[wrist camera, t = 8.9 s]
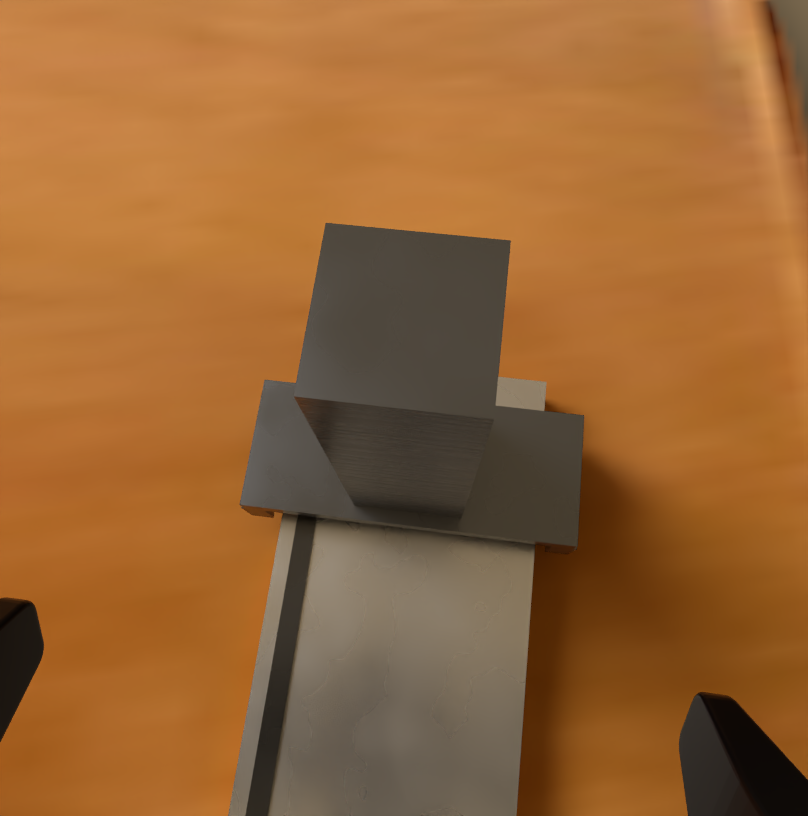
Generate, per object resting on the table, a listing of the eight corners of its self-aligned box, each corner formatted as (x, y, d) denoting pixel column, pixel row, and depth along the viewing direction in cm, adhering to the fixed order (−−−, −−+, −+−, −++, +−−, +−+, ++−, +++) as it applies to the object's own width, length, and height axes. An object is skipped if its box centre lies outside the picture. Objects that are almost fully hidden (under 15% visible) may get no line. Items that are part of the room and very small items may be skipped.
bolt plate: (485, 1145, 18) (504, 1303, 14) (190, 1092, 19) (121, 1227, 14) (539, 396, 25) (563, 346, 20) (317, 372, 25) (295, 318, 21)
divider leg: (567, 554, 22) (723, 470, 10) (252, 515, 23) (75, 395, 11) (573, 433, 23) (720, 239, 12) (274, 399, 24) (136, 184, 12)
